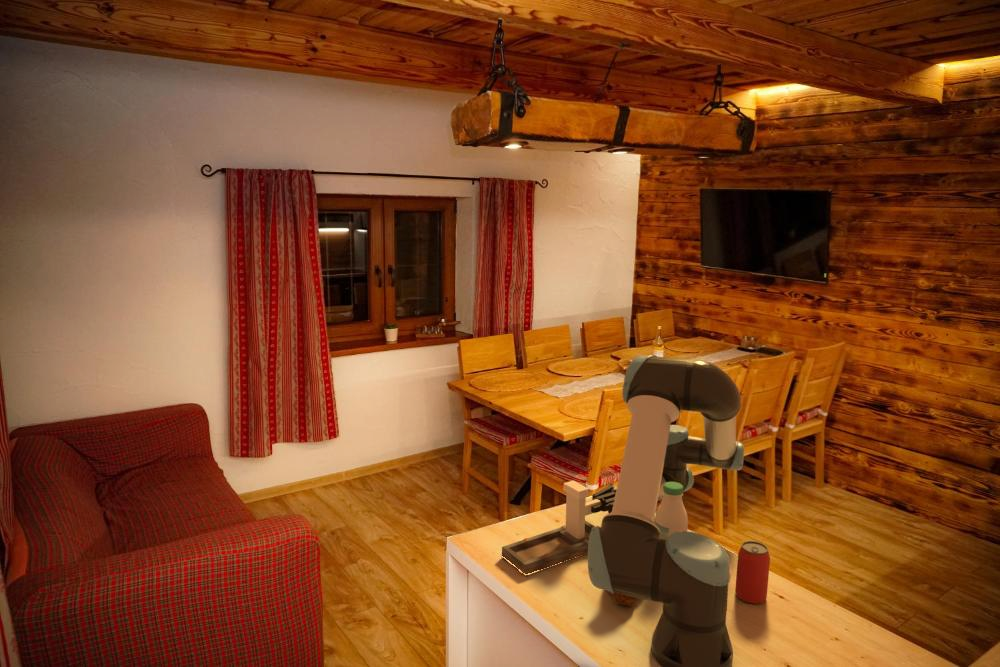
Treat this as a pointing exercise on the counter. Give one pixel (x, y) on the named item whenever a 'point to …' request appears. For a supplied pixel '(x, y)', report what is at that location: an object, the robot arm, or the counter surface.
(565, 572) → the counter surface
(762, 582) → the beer can
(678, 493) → the milk bottle
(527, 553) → the fader rail
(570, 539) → the fader knob
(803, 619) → the counter surface
